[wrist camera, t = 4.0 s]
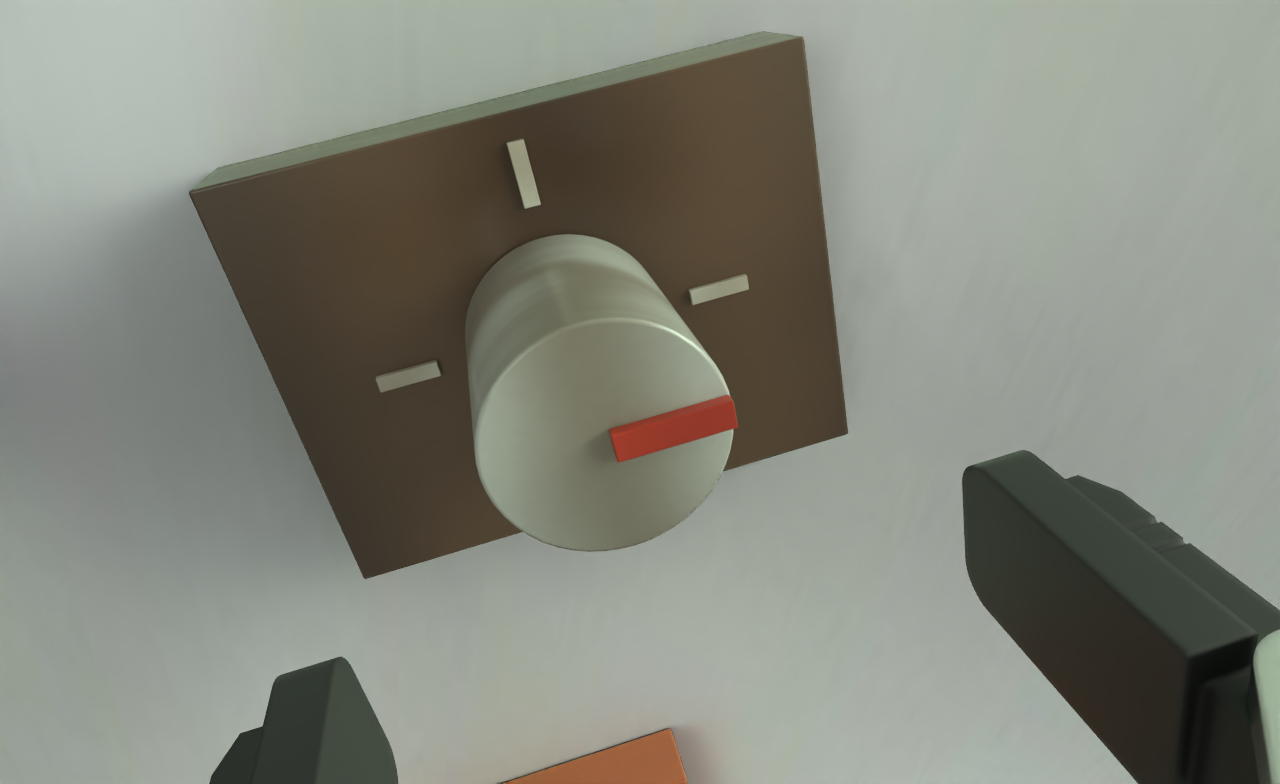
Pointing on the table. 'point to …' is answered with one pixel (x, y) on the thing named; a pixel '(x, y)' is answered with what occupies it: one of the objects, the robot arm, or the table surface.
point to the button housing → (619, 765)
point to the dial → (590, 397)
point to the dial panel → (508, 218)
